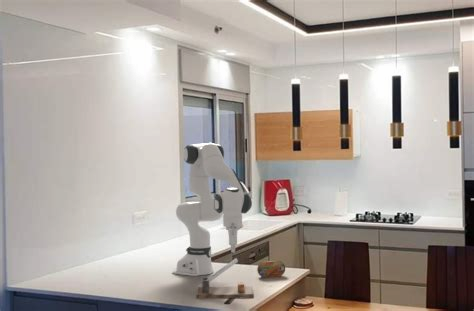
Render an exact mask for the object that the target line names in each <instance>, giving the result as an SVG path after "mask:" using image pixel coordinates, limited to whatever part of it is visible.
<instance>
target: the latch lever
mask: <svg viewBox="0 0 474 311" xmlns="http://www.w3.org/2000/svg"><path fill="white" fill-rule="evenodd" d="M238 262H239V260H238V259H237V258H234V259H232V260H231V261H230V262H229V263H227V264H226V265H225V266H223V267H222V268H220V269H219V270H218V271H216V272H215V273H212V275H210V276H209V278H208V279H206V280H209V283H210V282H212V281H214V280H215V279H217V278H218V277H219V276H221V275H222V274H223V273H224V272H226V271H228V270H229V269H230V268H231V267H233V266H234V265H236V264H237V263H238Z"/></svg>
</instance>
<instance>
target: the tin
mask: <svg viewBox="0 0 474 311" xmlns="http://www.w3.org/2000/svg"><path fill="white" fill-rule="evenodd" d="M256 269H257V271H256V272H257V274H258V275H259V276H260V277H261V278H263V279H267V278H268V279H269V277H270V279H271V278H279V277H282V276H283V275H284V274H285V272H286V265H285V263H283V262H282V261H281V260H268V261H261V262H260V263H259V264H258V266H257V268H256Z"/></svg>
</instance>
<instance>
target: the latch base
mask: <svg viewBox="0 0 474 311" xmlns="http://www.w3.org/2000/svg"><path fill="white" fill-rule="evenodd" d="M209 277H210V276H209ZM209 277H208V276H207V277H202V280H201V282H202V283H201V285H202V286H199V287H197V290H196V299H235V298H237V299H239V298H240V297H249V298H254V289H253V286H252V285H251V286H250V285H248V286H245V282H244V281H237V286H210V282H209V280H206V279H208V278H209Z"/></svg>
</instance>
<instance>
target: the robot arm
mask: <svg viewBox="0 0 474 311" xmlns="http://www.w3.org/2000/svg"><path fill="white" fill-rule="evenodd" d="M182 154H183V159H184V162H185V163H186V164H188V165H189V168H188V169H189V171H188V177H189V178H188V182H189V183H188V184H189V185H188V188H189V191H190V193H191V194H193V195H194V196H197V197H198V198H200V201H187V202H186V201H185V202H182V203H179V204H178V205H177V207H176V209H175V215H176V217H177V220H179V221H180V222H181V223H183V224H184V225H185V227H186V229H187V231H188V235H189V246H188V247H187V248H186V249H185V252H186V254H185V255H184V256H182V257H181V258H179V259H178V261H177V263H176V268H174V269H172V274H174V275H181V276H182V275H183V276H190V277H191V276H192V277H197V276H203V275H204V276H205V275H211V274H214V269H213V264H212V258H211V257H212V247H211V234H210V233H211V232H210V231H209V230H208V229H207V228H204V227H202V226H200V224H199V222H200V223H202V222H203V223H204V222H214V221H219V220H220V219H222V218H223V220H222V222H223V223H222V224H223V225H222V226H223V227H225V230H226V231H227V232H228V244H229V245H228V246H230V249H231V250H230V253H232V254H233V253H235V252H236V246H237V245H238V231H239V230H240V227H243V214H244V215H245V214H247V213H248V212H249V211H250V210H251V209H252V206H253V202H252V198H251V196H250V194H249V193H248V192H247V191H246V190H245V188H244V186H243V184H242V182H241V180H240V178H239V176H238V174H237V173H236V172H235V169H233V168H231V167H230V166H229V165H228V164H227V162H225V160H224V156H225V151H224V148H223V146H222V145H221V144H217V143H212V142H208V143H195V144H187V145H186V146H185V147H184V149H183V153H182ZM210 178H211V179H214V180H217V181H220V182H221V181H222V182H225V183H227V184H229V185H230V187H226V188H224V189H223V192H222V193H220V194H217V195H216V196H215V197H214V196H213V194H212V191H211V186H210Z"/></svg>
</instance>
